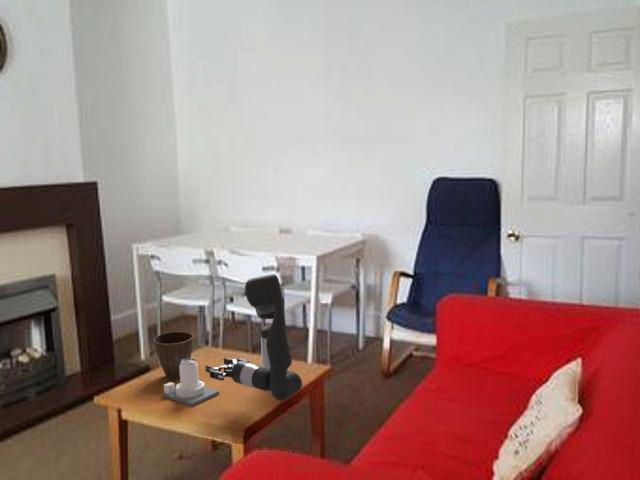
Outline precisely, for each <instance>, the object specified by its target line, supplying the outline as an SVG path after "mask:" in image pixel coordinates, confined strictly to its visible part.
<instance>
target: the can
mask: <svg viewBox="0 0 640 480" xmlns="http://www.w3.org/2000/svg"><path fill="white" fill-rule="evenodd" d="M198 365H199V364H198V362H197V359H196V358H189V359H184V360H181V361H180V366H179V368H180V379H179V383H180V384H181V389H183V390H193V389H196V388H199V381H200V379H199V368H198Z"/></svg>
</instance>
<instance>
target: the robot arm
mask: <svg viewBox="0 0 640 480" xmlns="http://www.w3.org/2000/svg"><path fill="white" fill-rule="evenodd" d="M244 292H245V298H246V299H247V300H246V301H247V302H248V304H249V305H250V306H251V307H252V308H254V309H255V313H256V315H257V317H258V318H259V319H261V320H272V323H270V324H268V325H265V326H263V327H261V329H260V345H261V346H260V348H261V349H260V350H261V351H260V352H261V366H260V365H258V364H255V363H252V362H250V360H247V359H245V358H242V357H237V358H228V357H224V358H223V364H224V365H219V366H216V367H214V366H212V365H208V364H207V365H205V372H206V373H209V378H211V379H215V380H217V381H224V380H225V379H224V378H225V377H226V378H231V379H232V381H233V382H235V383H236V384H239V385H242V386H244V387H245V386H246V387H248V388H254V389H257V390H261V391H264V392H271V395H272V397H273V398H275V400H277V401H280V402H282V401H285V400H287V399H289V398H291V397H292V396H294V395H296V394H297V393H298V392H299V391H300V390H301V389H302V387H303V380H302V378H301V377H300V375H299V374H298V373H296V372H294V371H292V370H288V369H289V368H290V366H291V365H292V361H293V359H292V354H291V350H290V346H289V340H288V334H287V325H286V314H285V298H284V296H283V292H282V287H281V283H280V280H279V277H278V276H277V274H275V273H269V274H265V275H260V276H255V277H251V278H249V279H248V280H246V282H245V286H244Z"/></svg>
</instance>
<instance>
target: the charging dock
mask: <svg viewBox="0 0 640 480" xmlns="http://www.w3.org/2000/svg"><path fill="white" fill-rule="evenodd" d="M161 395H162V397H164V398H167V399H169V400H173V401H175V402H178V403H181V404H184V405H186V406H189V407H193V406H196V405H199V404H201V403H203V402H205V401H207V400H209V399H211V398H213V397H216V396H218V395H220V390H217V389H215V388H211V387H207V386H206V385H205V382H204V381H201V380H199V388H196V389H193V390H183V389H181V384H180V382H179V383H177V384H175V383H174V382H171V381H170V382H169V381H168V383H165V384H163V392H162V393H161Z"/></svg>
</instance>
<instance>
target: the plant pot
mask: <svg viewBox="0 0 640 480" xmlns="http://www.w3.org/2000/svg"><path fill="white" fill-rule="evenodd" d="M193 341H194V335H193V333H190V332H188V331H171V332H166V333H163V334H162V333H161V334H159V335H157V336H155V337H154V339H153V342H154V346H155V351H156V354H157V357H158V360H159V363H160V366H161V368H162V371H163V372H164V374H165V376H166V378H167V379H168V380H171V381H172V380H173V381H174V380H175V381H176V380H180V368H179V366H180V361H181V360H184V359H189V358H191V357H192V351H193Z"/></svg>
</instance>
